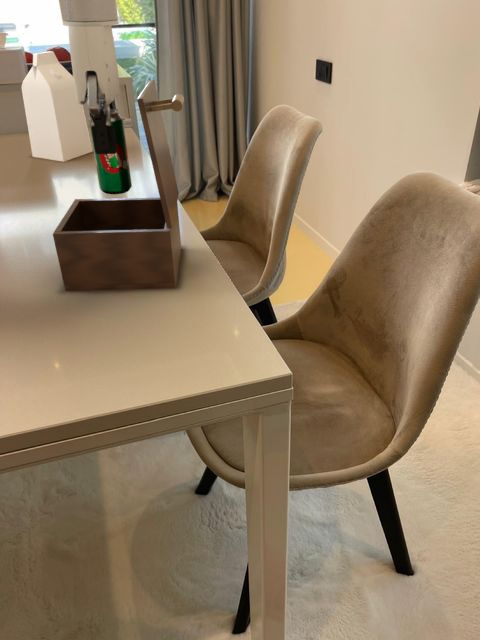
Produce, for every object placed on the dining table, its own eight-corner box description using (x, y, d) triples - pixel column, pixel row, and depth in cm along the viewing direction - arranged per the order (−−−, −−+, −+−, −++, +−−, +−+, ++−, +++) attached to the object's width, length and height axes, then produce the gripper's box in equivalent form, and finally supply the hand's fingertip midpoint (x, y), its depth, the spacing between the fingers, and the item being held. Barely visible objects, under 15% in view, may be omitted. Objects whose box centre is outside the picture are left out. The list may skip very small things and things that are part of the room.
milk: (62, 147, 167) (43, 49, 153) (92, 151, 163) (76, 51, 149) (32, 156, 158) (9, 53, 144) (63, 162, 154) (43, 56, 140)
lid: (136, 99, 76) (176, 93, 76) (149, 80, 89) (182, 75, 89) (167, 228, 87) (201, 223, 86) (174, 194, 100) (204, 190, 100)
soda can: (111, 184, 93) (99, 107, 87) (138, 187, 92) (128, 109, 85) (94, 193, 89) (80, 113, 83) (121, 196, 88) (110, 116, 81)
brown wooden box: (65, 291, 92) (52, 233, 86) (85, 251, 105) (75, 199, 99) (175, 288, 92) (170, 231, 87) (181, 248, 106) (176, 197, 100)
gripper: (75, 9, 84) (95, 135, 94) (45, 16, 70) (73, 164, 80) (125, 9, 84) (140, 134, 94) (106, 16, 70) (126, 163, 80)
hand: (109, 147), depth 87 cm, fingers closed on soda can, 5 cm apart
